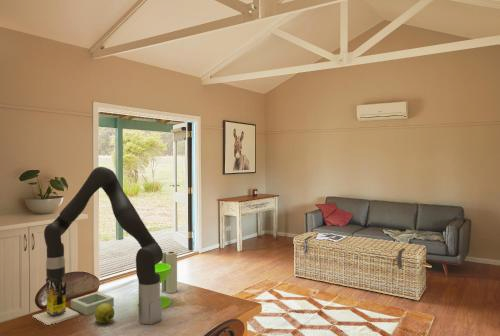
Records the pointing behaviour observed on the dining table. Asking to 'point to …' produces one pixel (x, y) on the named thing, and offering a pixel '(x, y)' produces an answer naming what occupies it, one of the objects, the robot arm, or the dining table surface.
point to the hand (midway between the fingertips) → (56, 302)
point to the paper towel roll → (171, 280)
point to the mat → (51, 319)
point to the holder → (84, 302)
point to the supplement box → (55, 303)
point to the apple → (104, 313)
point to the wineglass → (163, 272)
